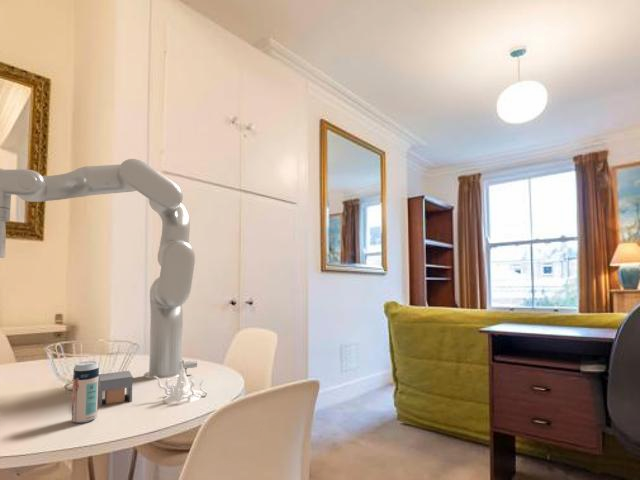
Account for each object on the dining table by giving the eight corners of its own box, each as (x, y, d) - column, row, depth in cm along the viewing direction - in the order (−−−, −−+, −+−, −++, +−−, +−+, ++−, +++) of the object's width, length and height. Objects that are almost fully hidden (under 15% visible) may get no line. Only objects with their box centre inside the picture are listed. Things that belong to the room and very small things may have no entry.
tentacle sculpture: (210, 399, 101) (210, 361, 102) (159, 408, 95) (160, 368, 95) (198, 390, 109) (199, 355, 109) (151, 398, 102) (152, 361, 103)
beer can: (78, 416, 89) (80, 361, 90) (101, 415, 90) (102, 360, 91) (66, 424, 85) (69, 366, 85) (90, 423, 85) (92, 365, 86)
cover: (128, 394, 105) (129, 370, 106) (131, 401, 99) (132, 376, 100) (97, 398, 102) (98, 374, 102) (99, 406, 96) (100, 380, 96)
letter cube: (122, 397, 103) (123, 380, 104) (124, 401, 100) (124, 383, 100) (104, 399, 101) (105, 382, 101) (106, 404, 98) (106, 386, 98)
